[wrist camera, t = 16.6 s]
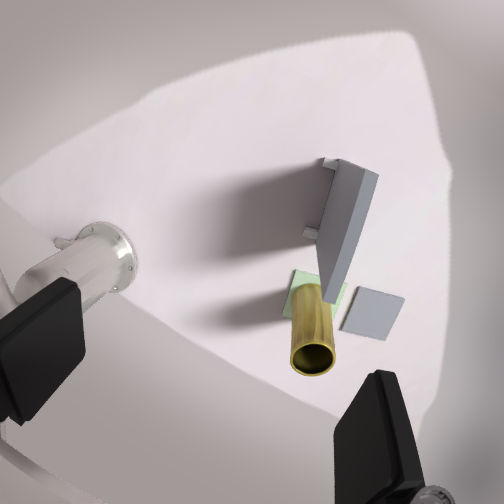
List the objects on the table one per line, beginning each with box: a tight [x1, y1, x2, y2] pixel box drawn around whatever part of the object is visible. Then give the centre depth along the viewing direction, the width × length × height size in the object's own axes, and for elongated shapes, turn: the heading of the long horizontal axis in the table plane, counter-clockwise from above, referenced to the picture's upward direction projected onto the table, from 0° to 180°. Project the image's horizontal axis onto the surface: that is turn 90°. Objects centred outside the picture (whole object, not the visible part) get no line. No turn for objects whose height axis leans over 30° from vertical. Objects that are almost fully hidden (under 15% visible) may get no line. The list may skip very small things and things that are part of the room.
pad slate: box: [341, 286, 405, 341], centre depth 47 cm, size 8×8×1 cm
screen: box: [303, 157, 379, 305], centre depth 34 cm, size 5×12×18 cm, turn 167°
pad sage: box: [282, 270, 348, 322], centre depth 47 cm, size 8×8×1 cm
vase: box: [290, 284, 336, 376], centre depth 41 cm, size 6×6×14 cm
